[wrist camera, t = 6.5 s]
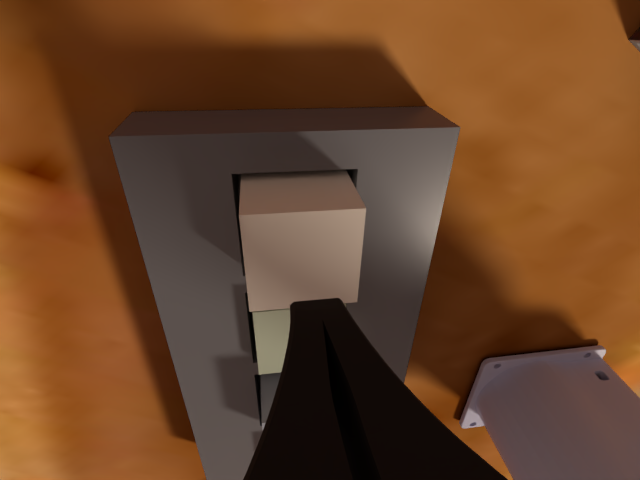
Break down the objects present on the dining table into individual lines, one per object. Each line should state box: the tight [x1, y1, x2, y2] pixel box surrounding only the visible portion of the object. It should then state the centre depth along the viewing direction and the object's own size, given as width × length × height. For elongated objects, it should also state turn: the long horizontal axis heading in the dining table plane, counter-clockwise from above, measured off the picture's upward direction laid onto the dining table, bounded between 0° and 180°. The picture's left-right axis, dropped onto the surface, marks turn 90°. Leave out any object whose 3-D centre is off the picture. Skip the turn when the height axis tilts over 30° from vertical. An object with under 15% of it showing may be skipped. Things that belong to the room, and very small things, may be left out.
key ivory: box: [239, 169, 366, 312], centre depth 14 cm, size 4×4×3 cm
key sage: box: [253, 303, 346, 375], centre depth 19 cm, size 4×4×3 cm
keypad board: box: [109, 106, 460, 480], centre depth 21 cm, size 12×24×3 cm, turn 178°
